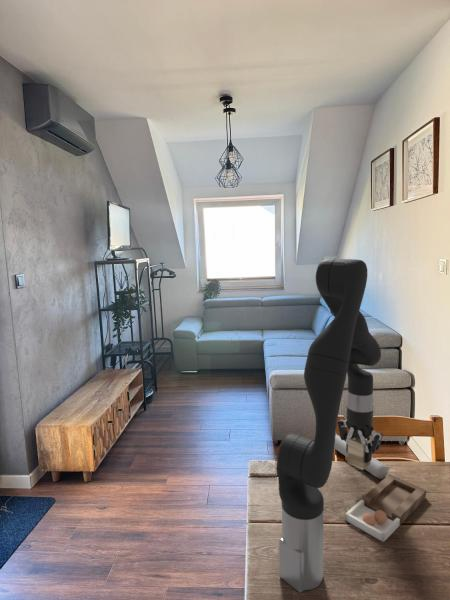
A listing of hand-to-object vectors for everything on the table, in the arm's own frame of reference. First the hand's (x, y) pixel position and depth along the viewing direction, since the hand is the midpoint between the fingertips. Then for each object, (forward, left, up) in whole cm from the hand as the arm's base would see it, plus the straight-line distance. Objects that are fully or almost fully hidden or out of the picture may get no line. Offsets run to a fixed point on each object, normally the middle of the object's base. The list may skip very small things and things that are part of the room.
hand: (358, 458), depth 122 cm
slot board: (+1, -11, -9) cm, 14 cm away
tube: (+12, +8, -10) cm, 17 cm away
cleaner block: (0, 0, -2) cm, 2 cm away
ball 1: (-14, -11, -9) cm, 20 cm away
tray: (-12, -11, -9) cm, 18 cm away
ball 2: (-11, -12, -8) cm, 18 cm away
